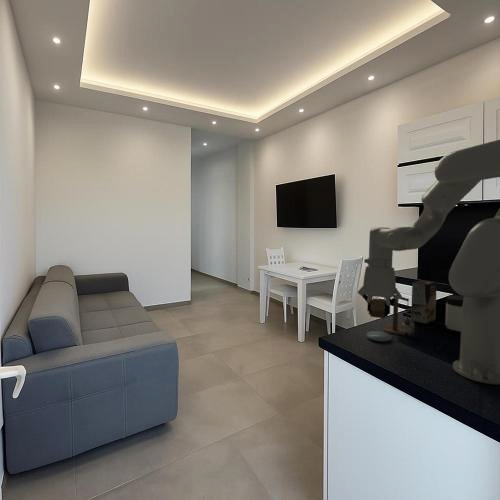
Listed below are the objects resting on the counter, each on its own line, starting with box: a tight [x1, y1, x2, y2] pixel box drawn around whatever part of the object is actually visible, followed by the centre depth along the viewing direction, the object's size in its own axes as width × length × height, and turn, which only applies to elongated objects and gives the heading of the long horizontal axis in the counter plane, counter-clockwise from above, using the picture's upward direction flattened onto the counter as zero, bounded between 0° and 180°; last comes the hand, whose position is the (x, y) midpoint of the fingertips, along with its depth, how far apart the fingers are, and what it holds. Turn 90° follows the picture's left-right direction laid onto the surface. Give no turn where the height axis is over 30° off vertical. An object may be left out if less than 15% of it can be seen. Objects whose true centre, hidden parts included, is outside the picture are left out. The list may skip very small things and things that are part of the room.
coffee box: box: [410, 279, 438, 325], centre depth 130 cm, size 9×6×16 cm
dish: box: [366, 330, 392, 343], centre depth 110 cm, size 8×8×1 cm
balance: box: [383, 294, 414, 337], centre depth 116 cm, size 4×12×15 cm, turn 58°
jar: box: [444, 294, 464, 333], centre depth 120 cm, size 9×8×12 cm
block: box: [369, 297, 386, 319], centre depth 109 cm, size 4×4×6 cm
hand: (378, 314), depth 110 cm, fingers closed on block, 4 cm apart
